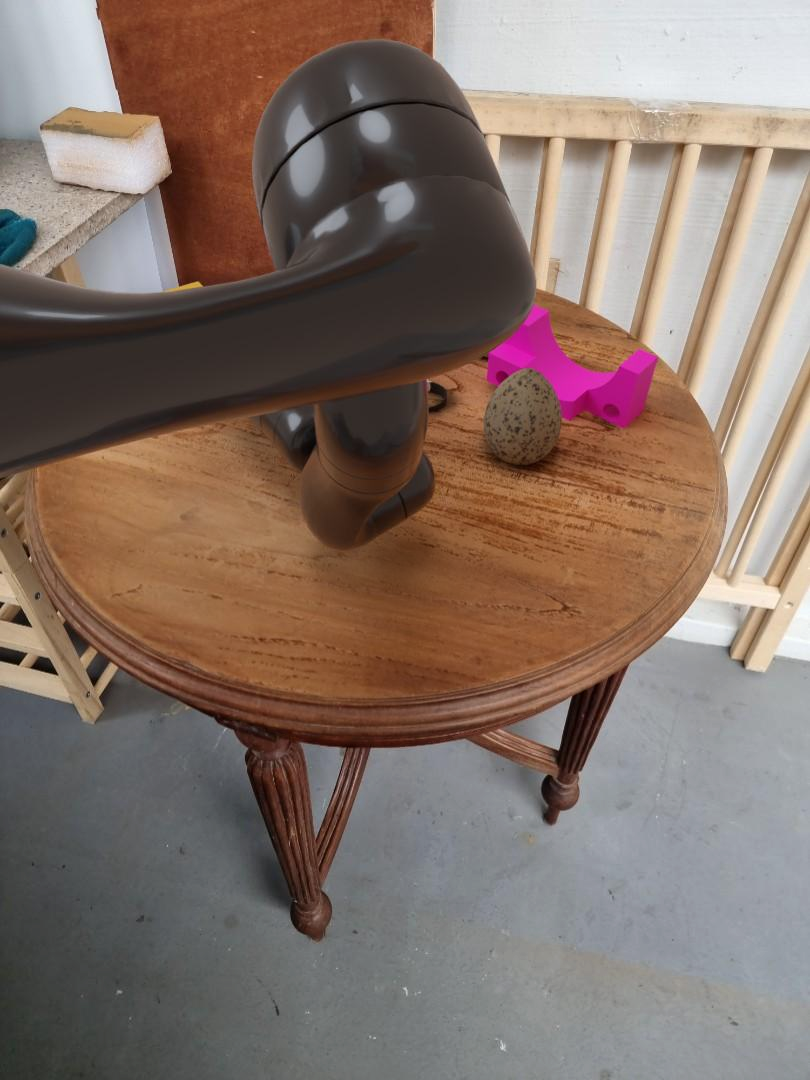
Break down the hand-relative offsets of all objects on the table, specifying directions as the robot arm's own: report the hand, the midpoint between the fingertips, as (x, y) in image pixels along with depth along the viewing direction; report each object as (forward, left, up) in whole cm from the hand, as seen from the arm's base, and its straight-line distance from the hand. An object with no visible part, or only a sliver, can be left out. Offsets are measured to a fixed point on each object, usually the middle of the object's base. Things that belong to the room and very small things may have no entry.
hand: (200, 299), depth 80 cm
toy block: (+33, -20, -8) cm, 39 cm away
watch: (+18, -15, -8) cm, 24 cm away
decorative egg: (+25, -26, -8) cm, 36 cm away
